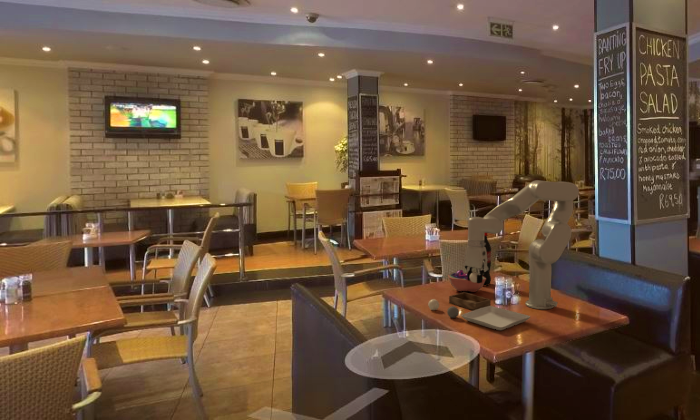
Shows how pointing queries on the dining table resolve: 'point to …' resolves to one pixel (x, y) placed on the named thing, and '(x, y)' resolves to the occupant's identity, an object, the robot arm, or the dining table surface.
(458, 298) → the tray
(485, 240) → the cola bottle
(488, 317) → the salad plate
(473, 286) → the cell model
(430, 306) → the cream ball
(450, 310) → the grey ball
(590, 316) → the dining table surface
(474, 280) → the cream ball
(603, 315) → the dining table surface
